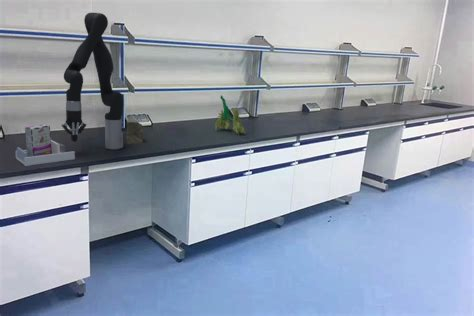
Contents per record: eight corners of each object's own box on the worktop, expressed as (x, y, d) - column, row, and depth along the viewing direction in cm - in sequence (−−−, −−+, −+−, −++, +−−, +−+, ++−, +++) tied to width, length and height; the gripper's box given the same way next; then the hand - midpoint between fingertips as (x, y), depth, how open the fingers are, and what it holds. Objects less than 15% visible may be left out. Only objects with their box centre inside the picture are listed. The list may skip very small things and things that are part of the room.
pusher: (59, 151, 217) (58, 138, 215) (67, 156, 209) (67, 143, 207) (49, 152, 213) (48, 139, 211) (58, 158, 205) (57, 144, 203)
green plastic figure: (248, 133, 299) (247, 93, 289) (234, 138, 287) (232, 97, 277) (222, 128, 315) (220, 90, 305) (207, 133, 303) (205, 94, 292)
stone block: (134, 138, 264) (134, 115, 260) (143, 143, 252) (144, 120, 248) (119, 139, 258) (119, 116, 254) (127, 144, 246) (127, 120, 242)
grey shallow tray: (63, 152, 220) (63, 142, 219) (74, 159, 210) (74, 148, 209) (16, 158, 204) (15, 147, 202) (25, 166, 194) (24, 154, 192)
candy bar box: (45, 154, 211) (43, 123, 206) (52, 156, 209) (50, 125, 204) (26, 159, 201) (24, 127, 196) (33, 161, 199) (31, 128, 195)
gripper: (63, 110, 203) (64, 144, 208) (89, 109, 213) (89, 141, 217) (58, 108, 209) (58, 141, 213) (83, 107, 218) (83, 138, 222)
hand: (74, 141), depth 215 cm, fingers closed
